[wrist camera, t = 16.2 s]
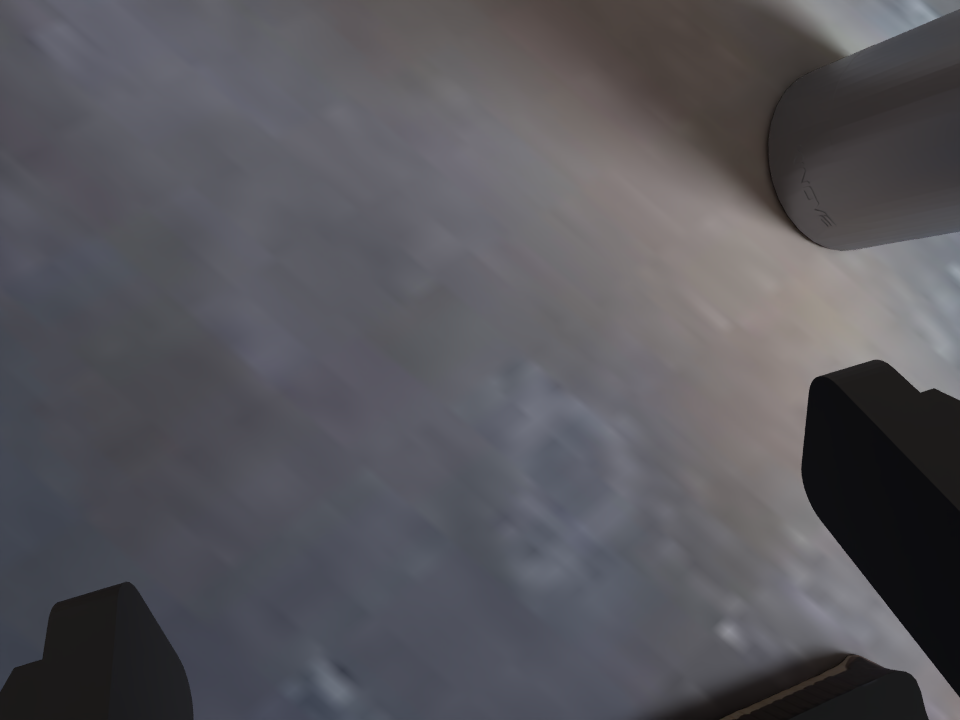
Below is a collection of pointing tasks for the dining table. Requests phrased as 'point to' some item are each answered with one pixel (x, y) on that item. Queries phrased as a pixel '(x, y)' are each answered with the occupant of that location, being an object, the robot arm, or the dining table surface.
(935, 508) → the robot arm
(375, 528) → the dining table surface
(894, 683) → the black sponge
